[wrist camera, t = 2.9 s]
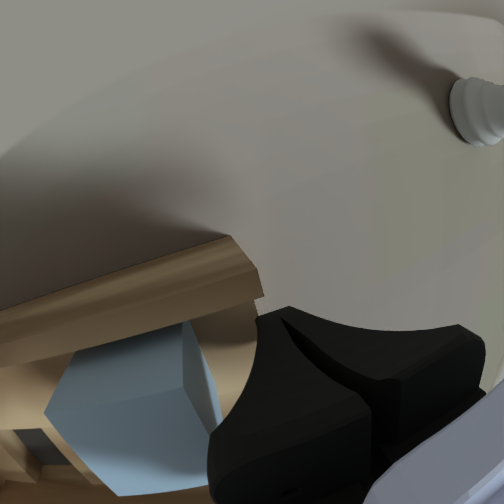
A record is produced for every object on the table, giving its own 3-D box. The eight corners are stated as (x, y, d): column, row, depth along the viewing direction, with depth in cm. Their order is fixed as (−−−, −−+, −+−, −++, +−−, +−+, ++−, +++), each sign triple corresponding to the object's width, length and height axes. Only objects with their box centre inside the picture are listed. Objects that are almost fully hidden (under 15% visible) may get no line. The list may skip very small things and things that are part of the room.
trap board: (287, 429, 16) (316, 491, 11) (13, 468, 13) (-3, 511, 8) (230, 235, 13) (257, 268, 8) (-77, 339, 10) (-115, 373, 5)
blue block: (216, 384, 12) (235, 478, 7) (130, 405, 11) (118, 496, 7) (182, 302, 11) (182, 386, 6) (88, 329, 10) (43, 413, 6)
